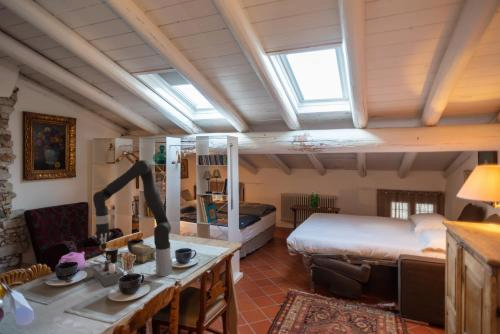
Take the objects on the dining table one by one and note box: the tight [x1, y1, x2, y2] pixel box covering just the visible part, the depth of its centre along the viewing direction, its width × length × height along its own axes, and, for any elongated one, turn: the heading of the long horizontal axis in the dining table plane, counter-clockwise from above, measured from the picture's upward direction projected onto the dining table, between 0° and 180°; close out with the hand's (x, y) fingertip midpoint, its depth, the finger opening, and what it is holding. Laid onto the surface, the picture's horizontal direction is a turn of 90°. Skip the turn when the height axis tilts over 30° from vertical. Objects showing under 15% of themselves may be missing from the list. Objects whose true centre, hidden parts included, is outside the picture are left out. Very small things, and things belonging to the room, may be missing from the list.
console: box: [92, 263, 124, 288], centre depth 190 cm, size 11×22×6 cm, turn 43°
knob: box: [109, 263, 116, 275], centre depth 184 cm, size 4×4×6 cm
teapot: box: [58, 251, 86, 271], centre depth 202 cm, size 20×12×13 cm, turn 165°
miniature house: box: [130, 242, 156, 265], centre depth 222 cm, size 15×14×11 cm
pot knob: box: [103, 260, 111, 272], centre depth 189 cm, size 4×4×6 cm
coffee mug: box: [100, 246, 119, 265], centre depth 218 cm, size 12×9×10 cm
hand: (103, 249), depth 194 cm, fingers closed
